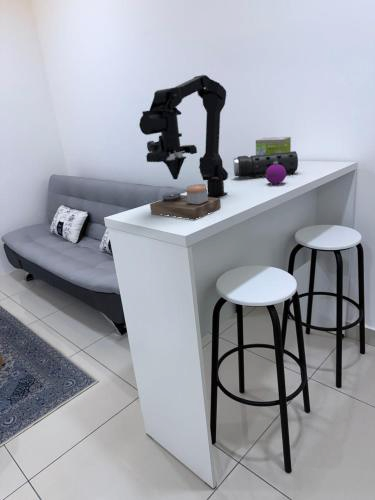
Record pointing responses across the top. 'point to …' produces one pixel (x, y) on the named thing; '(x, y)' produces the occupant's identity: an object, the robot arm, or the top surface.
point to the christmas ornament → (275, 173)
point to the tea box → (273, 145)
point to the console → (185, 208)
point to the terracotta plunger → (197, 194)
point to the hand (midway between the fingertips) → (175, 179)
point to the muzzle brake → (264, 164)
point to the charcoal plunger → (171, 197)
